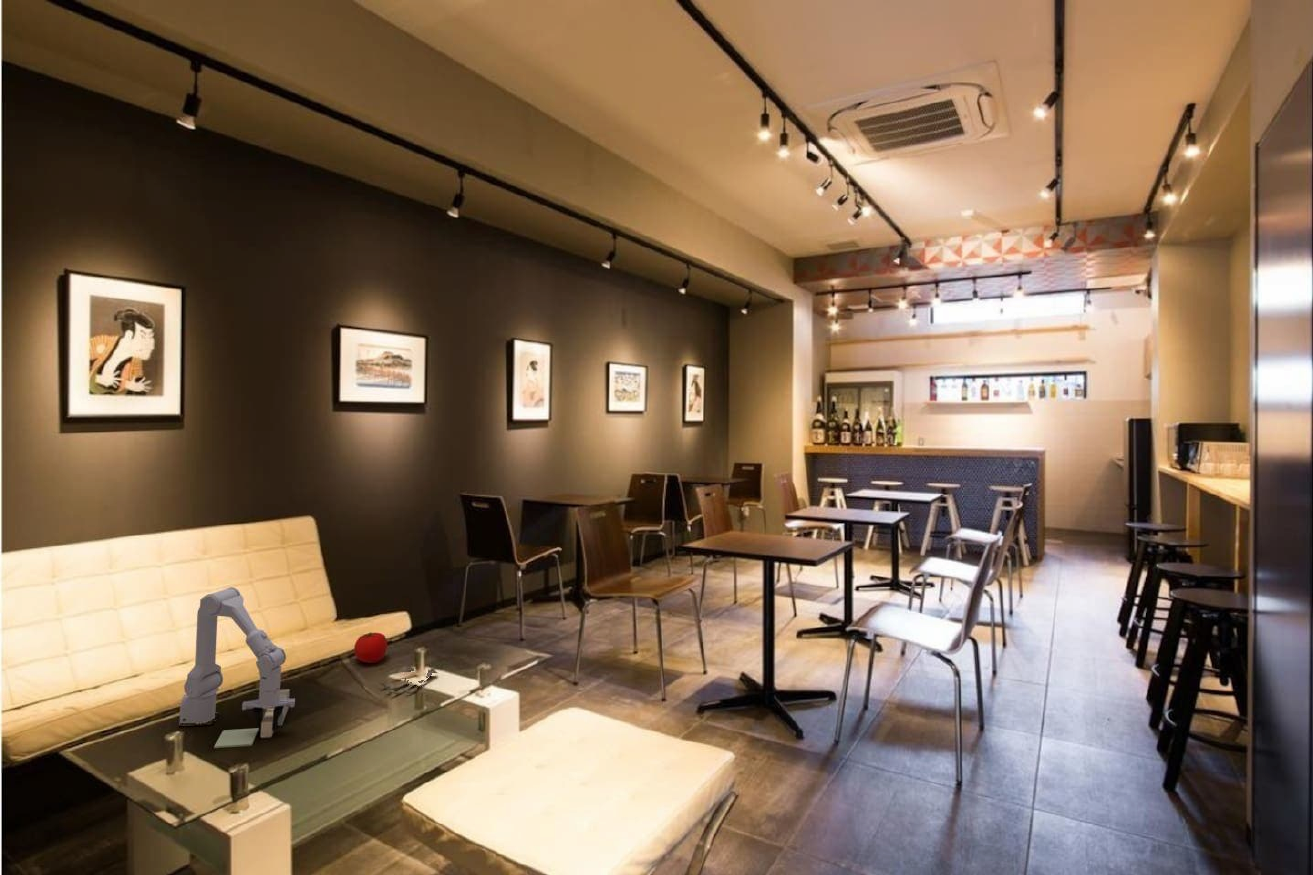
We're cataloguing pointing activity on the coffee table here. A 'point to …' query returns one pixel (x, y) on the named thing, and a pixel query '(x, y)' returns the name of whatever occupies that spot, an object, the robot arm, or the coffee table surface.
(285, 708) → the frame
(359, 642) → the tomato
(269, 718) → the beige rectangular block
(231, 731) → the pad
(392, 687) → the skeleton model
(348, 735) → the coffee table surface
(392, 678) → the coffee table surface
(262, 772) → the coffee table surface
